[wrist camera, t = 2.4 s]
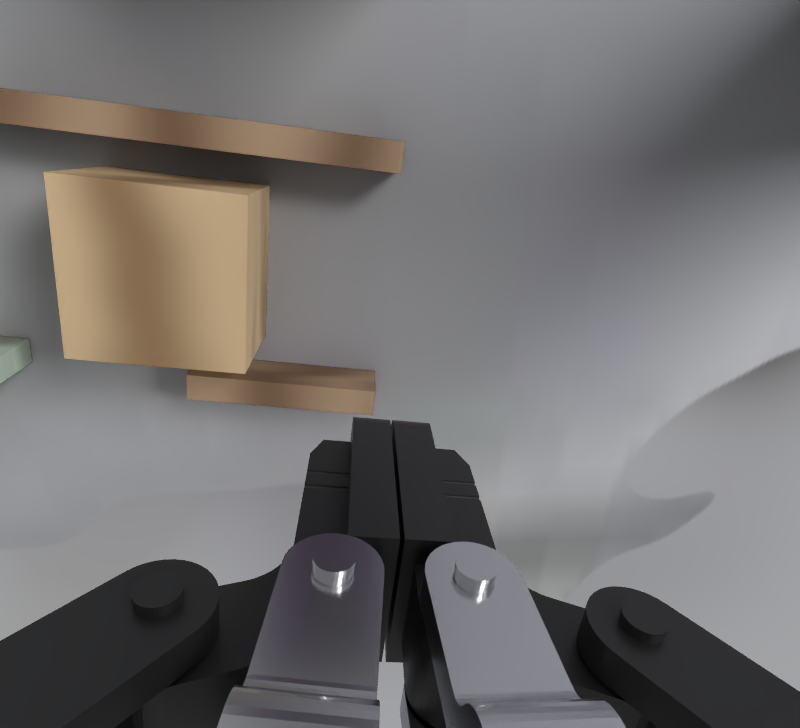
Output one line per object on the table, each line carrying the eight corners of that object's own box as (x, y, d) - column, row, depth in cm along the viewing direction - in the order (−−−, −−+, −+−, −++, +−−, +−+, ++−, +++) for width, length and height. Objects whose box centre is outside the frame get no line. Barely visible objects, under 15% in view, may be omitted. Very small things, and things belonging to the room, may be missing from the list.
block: (270, 185, 25) (247, 195, 20) (266, 334, 27) (245, 374, 23) (106, 166, 24) (43, 171, 19) (117, 320, 27) (64, 358, 22)
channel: (401, 141, 24) (407, 141, 20) (372, 392, 28) (373, 430, 25) (-179, 64, 22) (-290, 49, 18) (-113, 349, 26) (-192, 383, 23)
